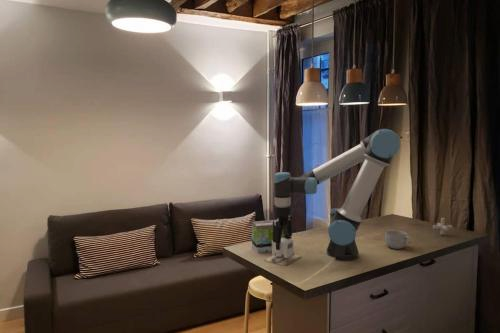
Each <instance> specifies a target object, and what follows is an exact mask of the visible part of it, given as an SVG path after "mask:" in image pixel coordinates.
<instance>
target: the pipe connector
mask: <svg viewBox="0 0 500 333" xmlns="http://www.w3.org/2000/svg"><path fill="white" fill-rule="evenodd" d="M445 220H446V219H445V217H441V218H440V222H437V223H436V224H435V225H434V224H433V225H432V229H440V234H444V235H445V231H448V230H449V229H452V228H453V225H452V224H445Z"/></svg>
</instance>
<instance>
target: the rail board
mask: <svg viewBox="0 0 500 333" xmlns="http://www.w3.org/2000/svg"><path fill="white" fill-rule="evenodd" d="M301 258H302V256H301V255H297V254H295V253H294V251H293V255H292V256H290V257H288V258H284V257H279V256H276V255H271V256H269V257H267V258H265V259H263V261H264V262H266V263H272V264H276V265H281V266H283V267H284V266H285V267H288V266H289V265H290V264H293V263H294V262H296V261H297V260H299V259H301Z"/></svg>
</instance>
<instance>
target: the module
mask: <svg viewBox="0 0 500 333" xmlns="http://www.w3.org/2000/svg"><path fill="white" fill-rule="evenodd" d="M281 243H282V254H283V255H284V258H288V257H290V256H292V255H293V252H294V240H293V239H285V238H281ZM273 255H276V243H275V242H273V240H272V252H271V256H273Z"/></svg>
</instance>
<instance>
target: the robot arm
mask: <svg viewBox="0 0 500 333" xmlns="http://www.w3.org/2000/svg"><path fill="white" fill-rule="evenodd" d="M400 147H401V140H400V138H399V135H398V134H397V133H396V132H395V131H393V130H391V129H388V128H379V129H376V130H375V131H374V132H372V133H371V134H369V136H367V137H365V138H364V139H362V140H360V143H359V144H357V145H355V146H354V147H352V148H350V149H348V150H346V151H344V152H343V153H340V154H339V155H337V156H335V157H332V158H331V159H330V160H328V161H326V162H324V163H322V164H320V165H318V166H317V167H315V168H313V169H312V170H309V171H308V172H305V173H303V174H302V175H301V176H296V177H294V176H291V173H290V172H287V171H285V172H284V171H281V172H279V171H278V172H276V173H274V179H273V181H274V182H273V185H274V186H273V187H274V188H273V192H274V193H273V194H274V201H273V203H274V205H275V206H274V207H273V209H274V211H273V213H274V215H276V217H275V220H276V221H273V242H275V243H276V256H279V257H282V243H281V237H282V230H283V232H284V237H285V239H290V240H292V238H293V237H292V236H293V227H292V226H293V225H292V224H293V223H292V221H293V216H292V215H291V211H292V209H291V205H292V203H291V202H292V200H291V197H292V196H291V194H296V195H297V194H298V195H299V194H301V195H316V194H317V192H318V185H320V184H322V183H324V182H326V181H327V180H329V179H331V178H333V177H335V176H337V175H339V174H340V173H342V172H344V171H346V170H348V169H350V168H353V167H354V166H355V165H357V164H360V163H362V162H363V163H362V164H361V166H360V169H359V171H358V173H357V175H356V177H355V179H354V182H353V184H352V186H351V187H350V189H349V192H348V194H347V196H346V198H345V201H344V203H343V205H342V206H341V207H339V208H336V207H335V208H331V210H330V212H329V215H330V218H329V225H328V228H327V229H328V230H327V233H328V236H329V242H328V245H327V247H326V255H328V256H329V257H331V258H334V260H336V261H337V260H338V261H353V260H356V259H358V258H359V255H360V254H359V253H360V251H359V249H358V246H357V242H356V236H357V232H358V230H359V227H360V226H361V224H362V218H361V215H362V214H363V211H364V210H365V207H366V205H367V203H368V201H369V199H370V197H371V196H372V193H373V191H374V188H375V187H376V184H377V182H378V181H379V178H380V177H381V174H382V173H383V171H384V168H385V167H387V166H390V164H391V163H392V161H393V158H394V157H395V155H396V154H397V153H398V152H399V151H400Z"/></svg>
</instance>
